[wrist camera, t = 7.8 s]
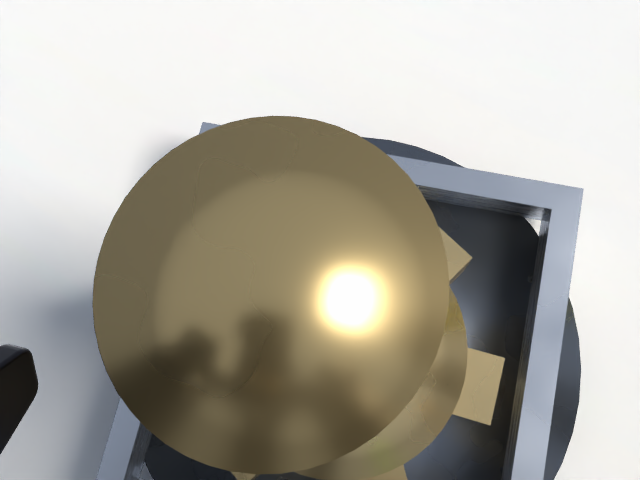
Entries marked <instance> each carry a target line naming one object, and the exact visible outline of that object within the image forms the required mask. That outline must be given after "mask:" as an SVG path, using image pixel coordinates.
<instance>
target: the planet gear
mask: <svg viewBox="0 0 640 480" xmlns="http://www.w3.org/2000/svg"><path fill="white" fill-rule="evenodd" d="M471 259H472V257H471V256H470V255H469V254H468V253H467V252H466V251H465V250H464V249H463V248H461V247H460V246H459V245H458V244H457V243H456V242H455V241H454V240H453V239H452V238H451V237H449V236H448V235H447V234H446V233H445V232H444V231H443V230H442V229H441V228H440V227H439V226H438V225H437V223H436V220H435V217H434V215H433V213H432V211H431V209H430V207H429V205H428V204H427V202H426V200H425V198H424V196H423V195H422V193H421V192H420V190H419V189H418V188H417V186H416V185H415V184H414V182H413V181H412V180H411V178H410V177H409V175H408V174H407V173H406V172H405V171H404V170H403V169H402V168H401V167H400V166H399V165H398V164H397V163H396V162H395V161H394V160H393V159H392V158H390V157H389V156H388V155H387V154H385V153H384V152H383V151H382V150H380V149H379V148H378V147H376V146H375V145H373V144H372V143H370V142H368V141H367V140H365V139H363V138H362V137H360V136H358V135H357V134H354V133H352V132H350V131H347V130H345V129H343V128H340V127H338V126H335V125H332V124H328V123H325V122H321V121H318V120H313V119H307V118H300V117H291V116H267V117H256V118H248V119H244V120H239V121H234V122H230V123H227V124H224V125H221V126H218V127H215V128H212V129H209V130H207V131H205V132H203V133H201V134H199V135H197V136H195V137H193V138H191V139H189V140H187V141H186V142H184V143H183V144H181V145H179V146H178V147H176V148H175V149H173V150H171V151H170V152H169V153H168V154H166V155H165V156H164V157H163V158H162V159H160V160H159V161H158V162H157V163H155V164H154V165H153V166H152V167H151V168H150V169H149V170H148V171H147V172H146V173H145V174H144V175H143V176H142V177H141V178H140V179H139V181H138V182H137V183H136V184H135V186H134V187H133V188H132V190H131V191H130V192H129V194H128V195H127V196H126V197H125V199H124V201H123V202H122V204H121V206H120V207H119V209H118V211H117V212H116V214H115V216H114V217H113V220H112V222H111V224H110V226H109V229H108V231H107V233H106V235H105V237H104V241H103V244H102V247H101V250H100V254H99V257H98V261H97V266H96V272H95V277H94V287H93V317H94V328H95V333H96V338H97V343H98V348H99V351H100V354H101V357H102V360H103V363H104V366H105V368H106V371H107V373H108V375H109V377H110V379H111V381H112V383H113V385H114V387H115V389H116V391H117V393H118V394H119V396H120V397H121V398H122V400H123V401H124V403H125V404H126V406H127V407H128V408H129V410H130V411H131V412H132V414H133V415H134V416H135V417H136V418H137V419H138V420H139V421H140V422H141V423H142V424H143V425H144V426H145V428H146V429H148V430H149V431H150V432H151V433H153V434H154V435H155V436H156V437H157V438H159V439H160V440H161V441H162V442H164V443H165V444H166V445H168V446H170V447H171V448H173V449H175V450H176V451H178V452H180V453H181V454H183V455H185V456H187V457H189V458H192V459H194V460H196V461H199V462H201V463H203V464H206V465H208V466H212V467H216V468H220V469H224V470H228V471H231V473H232V474H233V475H234V476H235V477H236V479H237V480H254V479H256V478H257V477H258V476H259V475H260V474H283V473H288V472H296V473H298V474H300V475H304V476H308V477H312V478H316V479H321V480H408V479H407V476H406V472H405V468H404V464H405V463H406V462H408V461H409V460H411V459H412V458H414V457H415V456H417V455H418V454H419V453H420V452H422V451H423V450H424V449H425V448H426V447H427V446H428V445H429V444H430V443H431V442H432V441H433V440H434V439H435V438H436V437H437V435H438V434H439V433H440V432H441V431H442V429H443V428H444V426H445V425H446V423H447V422H448V420H449V418H450V417H451V415H452V414H453V415H457V416H460V417H463V418H467V419H470V420H474V421H477V422H480V423H484V424H487V425H491V421H492V416H493V411H494V407H495V402H496V398H497V393H498V388H499V384H500V379H501V374H502V370H503V365H504V361H505V358H503V357H500V356H496V355H493V354H489V353H485V352H482V351H478V350H475V349H471V348H468V346H467V336H466V328H465V324H464V320H463V316H462V312H461V310H460V307H459V304H458V302H457V299H456V297H455V295H454V293H453V291H452V289H451V288H450V286H449V285H450V284H451V283H452V282H453V281H454V280H455V279H456V278H457V277H458V276H459V275H460V274H461V273H462V272H463V271H464V270H465V268H466V267H467V265H468V264H469V262H470V261H471Z"/></svg>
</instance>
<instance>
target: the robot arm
mask: <svg viewBox="0 0 640 480" xmlns="http://www.w3.org/2000/svg"><path fill="white" fill-rule="evenodd" d="M37 390H38V379H37V375H36V370H35V366H34V361H33V356H32V353H31V352H30V351H29V350H28V349H26V348H22V347H18V346H15V345H10V344H6V345H2V346H0V454H1V453H2V451H3V449H4V448H5V446H6V444H7V443H8V441H9V439H10V438H11V436H12V434H13V433H14V431H15V429H16V428H17V426H18V424H19V423H20V421H21V419H22V418H23V416H24V415H25V413H26V411H27V410H28V408H29V406H30V405H31V403H32V401H33V400H34V398H35V396H36V393H37Z"/></svg>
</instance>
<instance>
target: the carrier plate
mask: <svg viewBox="0 0 640 480" xmlns="http://www.w3.org/2000/svg"><path fill="white" fill-rule="evenodd" d="M218 126H221V125H217V124H211V123H205V122H203V123H202V126H201V129H200V133H199V134H201V133H203V132H205V131H207V130H209V129H212V128H215V127H218ZM362 138H363V139H365V140H367V141H368V142H370V143H372V144H373V145H375V146H376V147H378V148H379V149H380V150H382V151H383V152H384V153H385V154H387V155H388V156H389V157H390V158H392V159H393V160H394V161H395V162H396V163H397V164H398V165H399V166H400V167H401V168H402V169H403V170H404V171H405V172H406V173H407V174H408V175H409V177H410V178H411V180H412V181H413V182H414V184H415V185H416V186H417V188H418V189H419V190H420V192H421V193H422V195H423V196H424V198H425V200H426V202H427V204H428V205H429V207H430V209H431V211H432V213H433V215H434V217H435V220H436V223H437V225H438V226H439V227H440V228H441V229H442V230H443V231H444V232H445V233H446V234H447V235H448V236H449V237H451V238H452V239H453V240H454V241H455V242H456V243H457V244H458V245H459V246H460V247H461V248H463V249H464V250H465V251H466V252H467V253H468V254H469V255H470V256H471V257H472V259H471V261H470V262H469V264H468V265H467V267H466V268H465V270H464V271H463V272H462V273H461V274H460V275H459V276H458V277H457V278H456V279H455V280H454V281H453V282H452V283H451V284H450V285H449V286H450V288H451V289H452V291H453V293H454V295H455V297H456V299H457V302H458V304H459V307H460V310H461V312H462V316H463V320H464V324H465V328H466V336H467V346H468V348H471V349H475V350H478V351H482V352H485V353H489V354H493V355H496V356H500V357H503V358H505V361H504V365H503V370H502V374H501V379H500V384H499V388H498V393H497V398H496V402H495V407H494V411H493V416H492V421H491V425H487V424H484V423H480V422H477V421H474V420H470V419H467V418H463V417H460V416H457V415H453V414H452V415H451V417H450V418H449V420H448V422H447V423H446V425H445V426H444V428H443V429H442V431H441V432H440V433H439V434H438V435H437V437H436V438H435V439H434V440H433V441H432V442H431V443H430V444H429V445H428V446H427V447H426V448H425V449H424V450H423V451H422V452H420V453H419V454H418V455H417V456H415V457H414V458H412V459H411V460H409V461H408V462H406V463H405V464H404V468H405V472H406V476H407V479H408V480H554V478H555V476H556V474H557V472H558V470H559V468H560V466H561V464H562V462H563V459H564V456H565V453H566V451H567V448H568V445H569V442H570V439H571V436H572V433H573V429H574V424H575V419H576V414H577V409H578V404H579V393H580V377H581V363H580V349H579V337H578V332H577V327H576V323H575V318H574V313H573V308H572V305H571V302H570V299H569V289H570V282H571V275H572V268H573V261H574V253H575V246H576V239H577V232H578V225H579V217H580V210H581V203H582V196H583V189H582V188H576V187H571V186H565V185H559V184H554V183H548V182H542V181H536V180H531V179H525V178H519V177H514V176H508V175H502V174H497V173H491V172H485V171H479V170H474V169H468V168H464V167H462V166H461V165H459V164H457V163H455V162H453V161H451V160H449V159H447V158H445V157H443V156H441V155H438V154H435V153H433V152H430V151H427V150H424V149H422V148H419V147H416V146H412V145H408V144H404V143H399V142H395V141H391V140H383V139H374V138H365V137H362ZM524 217H525V218H531V219H536V220H541V225H540V232H539V236H538V235H537V233H536V232H535V230H534V229H533V227H532V226H531V225H530V224H529V223H528V221H527V220H526V219H525V218H524ZM144 460H145V462H146V465H147V467H148V470H149V472H150V474H151V476H152V477H153V479H154V480H237V479H236V477H235V476H234V475H233V474H232V473H231V471H228V470H224V469H220V468H216V467H212V466H208V465H206V464H203V463H201V462H199V461H196V460H194V459H192V458H189V457H187V456H185V455H183V454H181V453H180V452H178V451H176V450H175V449H173V448H171V447H170V446H168V445H166V444H165V443H164V442H162V441H161V440H160V439H159V438H157V437H156V436H155V435H154V434H153V433H151V432H150V431H149V430H148V429H146V428H145V426H144V425H143V424H142V423H141V422H140V421H139V420H138V419H137V418H136V417H135V416H134V415H133V414H132V412H131V411H130V410H129V408H128V407H127V406H126V404H125V403H124V401H123V400H122V398H121V397H120V401H119V404H118V407H117V411H116V414H115V417H114V421H113V424H112V427H111V431H110V434H109V437H108V441H107V444H106V447H105V451H104V454H103V457H102V461H101V464H100V467H99V471H98V474H97V478H96V480H144V479H140V474H141V471H142V467H143V463H144ZM254 480H321V479H316V478H312V477H308V476H304V475H300V474H298V473H296V472H288V473H283V474H260V475H259V476H258V477H257V478H256V479H254Z"/></svg>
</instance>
